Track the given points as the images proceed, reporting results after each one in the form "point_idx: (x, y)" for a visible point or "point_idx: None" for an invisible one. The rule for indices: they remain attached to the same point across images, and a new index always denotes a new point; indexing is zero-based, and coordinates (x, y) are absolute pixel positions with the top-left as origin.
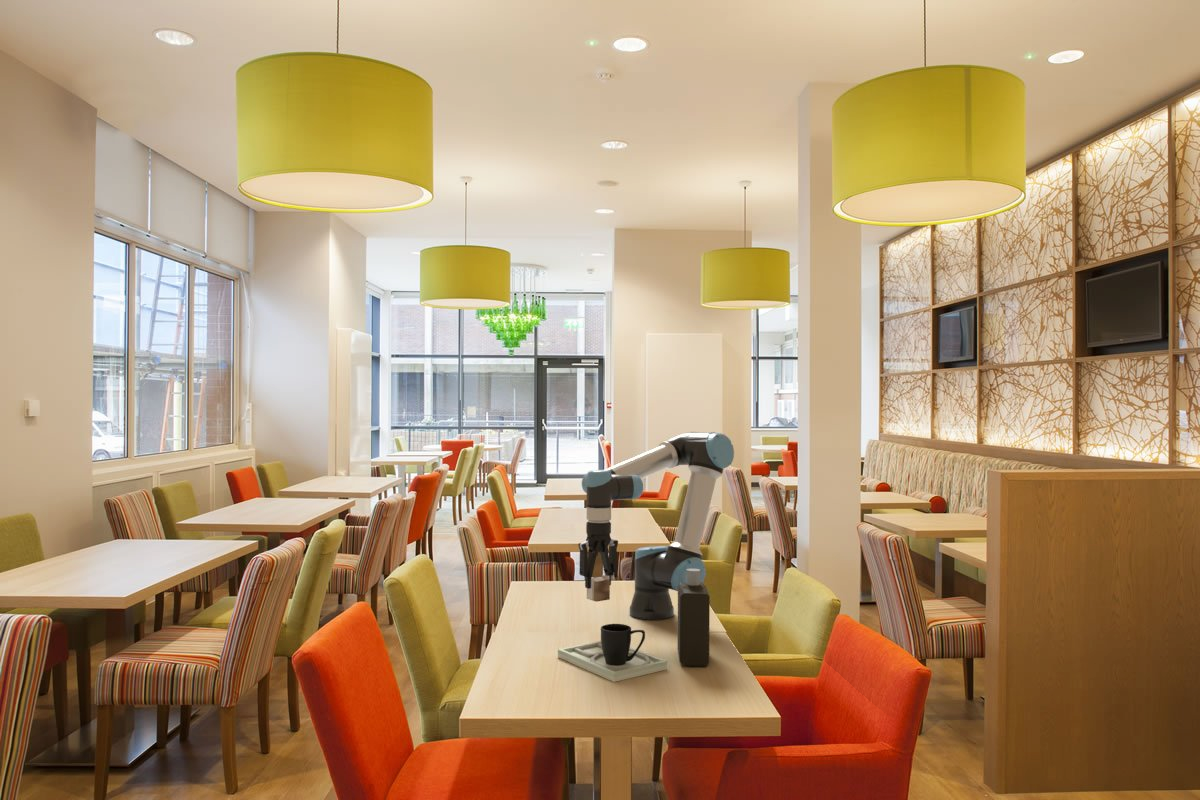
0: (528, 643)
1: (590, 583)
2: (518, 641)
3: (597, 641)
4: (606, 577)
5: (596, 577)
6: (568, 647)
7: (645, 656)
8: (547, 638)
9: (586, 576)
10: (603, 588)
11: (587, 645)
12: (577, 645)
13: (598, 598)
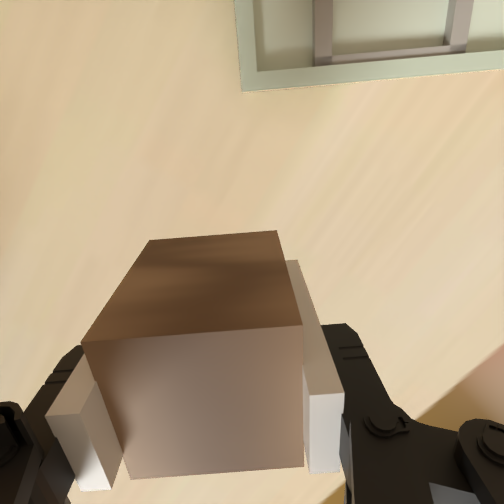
0: (458, 283)
1: (333, 358)
2: (465, 315)
3: (310, 85)
4: (94, 409)
5: (180, 474)
6: (482, 66)
7: None
8: (371, 303)
9: (433, 433)
10: (197, 282)
11: (383, 57)
12: (428, 73)
13: (256, 241)
